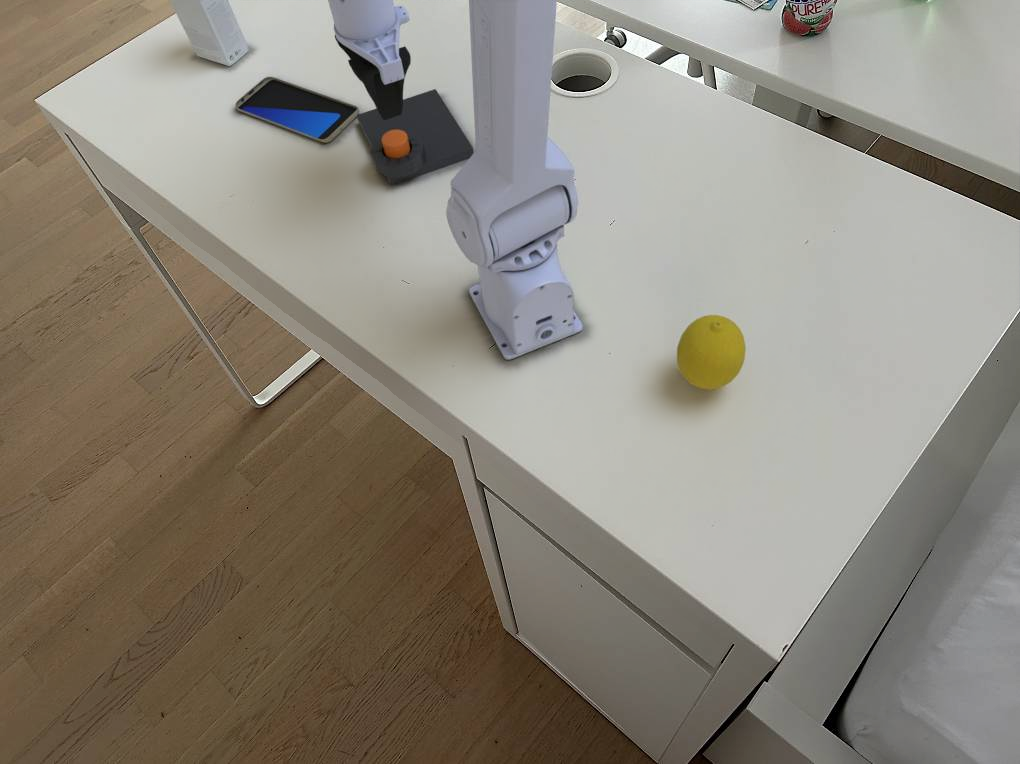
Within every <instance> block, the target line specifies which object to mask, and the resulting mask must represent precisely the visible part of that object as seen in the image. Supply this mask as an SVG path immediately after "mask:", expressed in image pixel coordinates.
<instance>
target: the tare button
mask: <svg viewBox="0 0 1020 764" xmlns="http://www.w3.org/2000/svg"><path fill="white" fill-rule="evenodd" d="M382 144H383V148H384V152H385V155H386V156H387V157H388V158H390V159H399V158H402V157H405V156H407V155H408V154H409V152H410V146H409V141H408V137H407V134H406V133H405V132H404V131H402V130H391V131H388V132H387V133H385V134H384V135H383V137H382Z"/></svg>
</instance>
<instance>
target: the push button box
mask: <svg viewBox="0 0 1020 764" xmlns="http://www.w3.org/2000/svg"><path fill="white" fill-rule="evenodd" d="M356 118H357V121H358V125H359V127H360V129H361V131H362V132H363V133H362V134H363V135H364V137H365V139H366V140H367V142H368V145H369V147H370V148H371V149H370V157H371V160H372V164H373V166H374V168H375V170H376V172H377V173H379V174H380V175H383V176H385V177H386V179H387V182H388V183H389V185H390V187H392V186H395V185H397V184H401V183H403V182H407V181H409V180H413V179H415V178H418V177H420V176H423V175H426V174H429V173H432V172H435V171H438V170H440V169H443V168H446V167H449V166H453V165H455V164H458V163H460V162H464V161H467V160H469V159H470V157H471V156H472V155H473V153H474V152H475V151H474V147H473V145H472V143H471V142H470V140H469V139H468V138H467V136H466V134H465V133H464V131H463V129H462V128H461V126H460V125H459V124H458V121H457V120H456V119H455V117H454V115H453V114H452V112H451V111H450V109H449V107H448V106H447V104H446V103H445V101H444V100H443V98H442V97H441V95H440V94H439V92H438V90H437V88H435V89H434V88H433V89H431V90H428V91H425V92H422V93H419V94H416V95H413V96H410V97H406V98H403V109H402V114H401V115H399V116H396V117H393V118H390V119H387V120H383V119H382V117H381V115H380V114H379V112H378V110H377V108H376V107H375V108H374V109H371V110H367V111H364V112H361V113H359V114H358V115H357V117H356ZM391 130H402V131H404V132H405V133H406V134H407V137H408V141H409V146H410V152H409V154H408V155H407V156H405V157H402V158H399V159H390V158H388V157H387V156H386V155H385V152H384V148H383V144H382V137H383V135H384V134H385V133H387V132H388V131H391Z"/></svg>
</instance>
